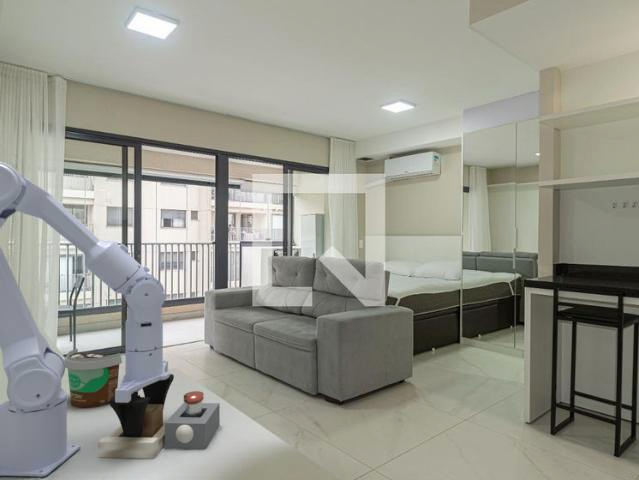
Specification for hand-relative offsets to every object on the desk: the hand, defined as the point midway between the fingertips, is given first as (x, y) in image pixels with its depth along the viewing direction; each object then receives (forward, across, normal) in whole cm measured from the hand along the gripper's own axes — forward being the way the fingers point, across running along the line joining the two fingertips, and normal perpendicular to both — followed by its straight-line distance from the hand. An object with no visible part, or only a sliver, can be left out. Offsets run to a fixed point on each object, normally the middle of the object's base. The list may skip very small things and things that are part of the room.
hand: (144, 428), depth 67 cm
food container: (+2, +14, +18) cm, 23 cm away
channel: (+2, +3, 0) cm, 3 cm away
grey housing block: (+2, +1, -8) cm, 8 cm away
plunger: (-1, +1, -8) cm, 8 cm away
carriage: (+2, 0, 0) cm, 2 cm away
